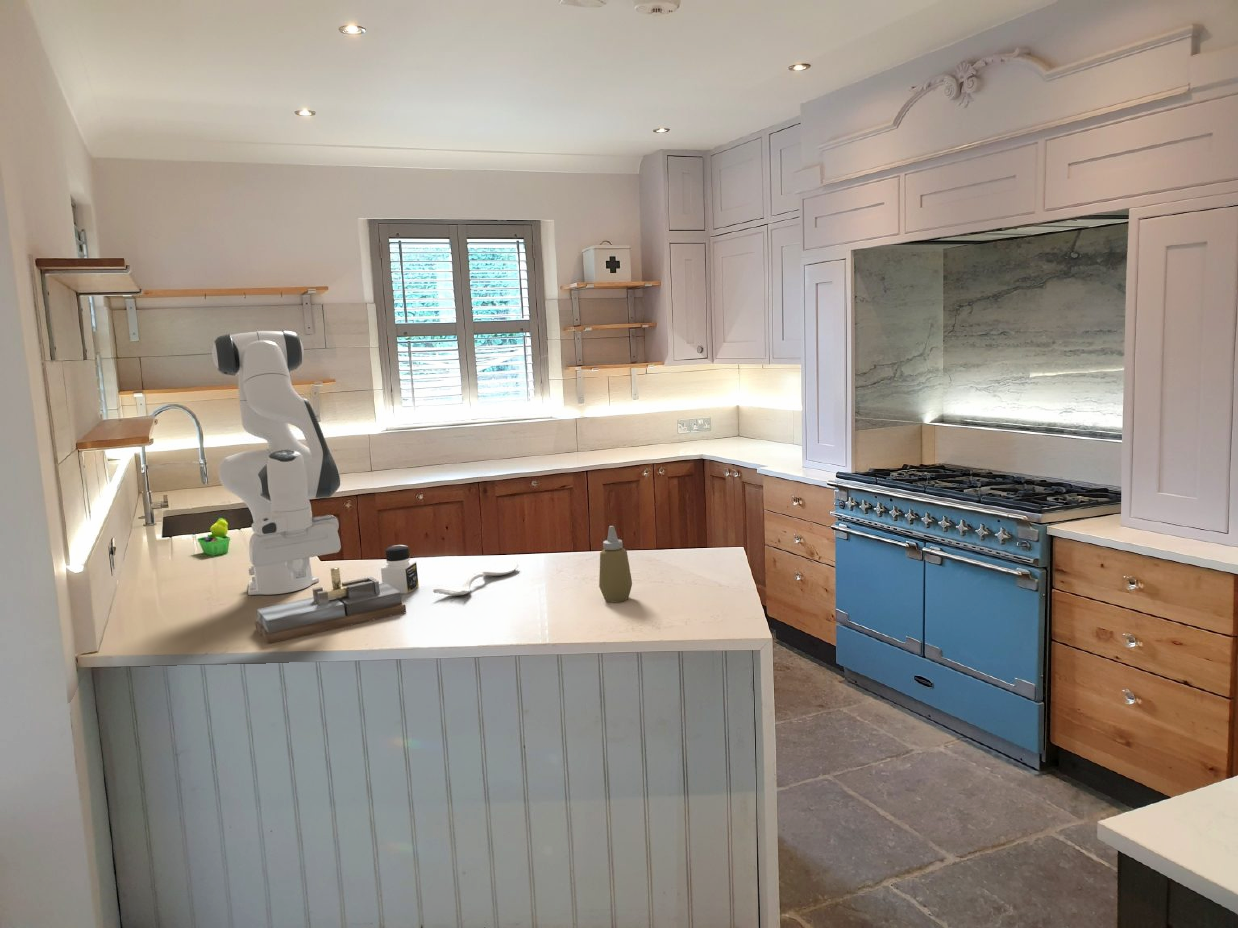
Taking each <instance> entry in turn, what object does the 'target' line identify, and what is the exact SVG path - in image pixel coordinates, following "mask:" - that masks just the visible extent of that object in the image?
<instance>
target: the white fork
mask: <svg viewBox="0 0 1238 928" xmlns="http://www.w3.org/2000/svg"><path fill="white" fill-rule="evenodd" d="M518 567H519V563H518V562H516V561H513V560H503V561H499V562H497V563H494V564H492V565H490V566H488V567H487V568H485V569H483V570H482V571H480V572H479V571H478V572H475V573H474V574H473V575H472V576H471V577H469V579H467V581H466V582H465V583H463V584H462V585H460V586H459V587H455V588H446V589H444V588H434V589H433V591H432V592H433V593H434V594H436V593H437V594H443V595H447V596H448V595H449V596H464V595H466V594H469V593H470V592H471V591H472V589H471V585H472V584H473V582H474V581H475V580H477V579H479V578H483V577H484V576H491V577H499V576H500V577H501V576H505V575H506V576H507V575H509V574H510V573H512V572H514V571H516V569H517V568H518Z"/></svg>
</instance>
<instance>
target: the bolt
mask: <svg viewBox="0 0 1238 928" xmlns="http://www.w3.org/2000/svg"><path fill="white" fill-rule="evenodd" d="M330 576H331V584H332V588H329V589H323V591H325V590H326V591H327V592H328V600H330V599H335V598H340V597H345V596H348V593H347V586H343V587H342V581H341V572H340V567H336V566H335V567H331V568H330ZM363 583H365V582H363ZM358 584H360V583H358ZM353 585H355V584H353ZM348 586H350V585H348Z"/></svg>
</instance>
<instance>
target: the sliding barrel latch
mask: <svg viewBox="0 0 1238 928" xmlns="http://www.w3.org/2000/svg"><path fill="white" fill-rule="evenodd" d="M379 581H380V580H377V579H375V578H373V577H372V576H368V577H363V578H358V579H352V580H349V581H348V580H347V581H343V582H342V581H341V587H343V586H347V593H348V596H345V597H340V598H335V599H330V600H328V592H327V591H326V590H327V589H323V587H322V586H319V587H313V588H312V596H313V597H310V598H304V599H300V600H295V601H290V602H285V603H281V604H276V605H271V606H266V607H260V608H256V616H257V620H255V621H254V623H255V628H256V631H257V632H258V633H259V635H260V636H262V638H263V639H264V640H265V642H267V644H274V643H277V642H278V643H279V642H282V641H286V640H291V639H296V638H299V637H304V636H305V637H306V636H309V635H312V634H317V633H321V632H325V631H331V630H334V628H336V629H339V628H343V627H344V628H345V627H348V625H349V626H352V625H351V624H353V625H356V624H361V623H365V622H366V621H367V622H371V621H374V620H373V619H375V620H378V619H379V620H380V619H383V618H388V617H387V616H389V617H391V616H390V615H393V616H396V615H402V614H405V613H404V612H406V613H407V606H406V603H404V602H403V601H402V600H403V599H402V594H401V592H400V591H398V590H396V589H395V588H393V587H391V586H390V585H388V584H386V583H382V582H381V583H380V582H379ZM363 582H365V583H363ZM358 583H360V584H358ZM353 584H355V585H353ZM348 585H350V586H348ZM323 590H325V591H323ZM401 613H402V614H401ZM370 620H371V621H370Z"/></svg>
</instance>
